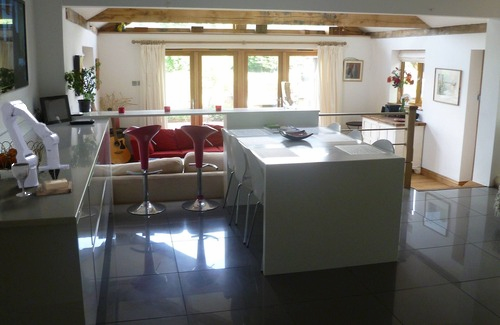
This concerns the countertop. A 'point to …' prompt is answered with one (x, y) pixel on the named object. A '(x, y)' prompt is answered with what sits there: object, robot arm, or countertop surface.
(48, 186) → the carton
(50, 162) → the robot arm
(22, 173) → the wine glass
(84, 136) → the countertop surface
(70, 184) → the cradle
